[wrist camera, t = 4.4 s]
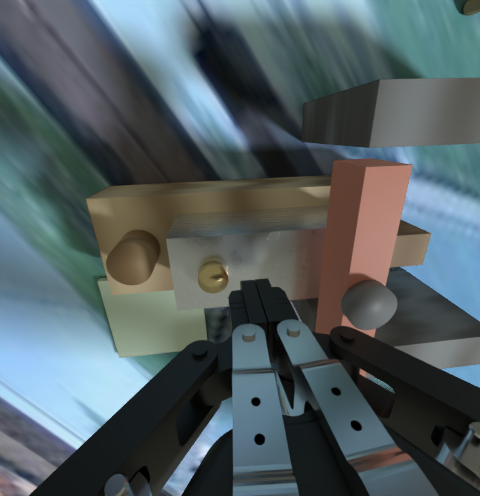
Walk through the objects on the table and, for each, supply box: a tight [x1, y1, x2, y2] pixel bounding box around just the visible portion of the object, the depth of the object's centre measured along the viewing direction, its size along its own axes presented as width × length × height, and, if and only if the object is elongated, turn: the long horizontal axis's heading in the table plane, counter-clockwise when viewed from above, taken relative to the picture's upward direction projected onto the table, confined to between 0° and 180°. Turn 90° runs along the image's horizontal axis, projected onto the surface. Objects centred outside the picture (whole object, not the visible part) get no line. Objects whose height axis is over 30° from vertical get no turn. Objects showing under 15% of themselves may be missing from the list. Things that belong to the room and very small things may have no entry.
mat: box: [97, 278, 208, 358], centre depth 28 cm, size 10×10×1 cm
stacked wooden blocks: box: [86, 78, 480, 378], centre depth 21 cm, size 30×20×11 cm, turn 92°
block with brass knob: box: [166, 205, 329, 311], centre depth 18 cm, size 12×5×6 cm, turn 92°
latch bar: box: [315, 159, 413, 377], centre depth 14 cm, size 2×13×4 cm, turn 2°
